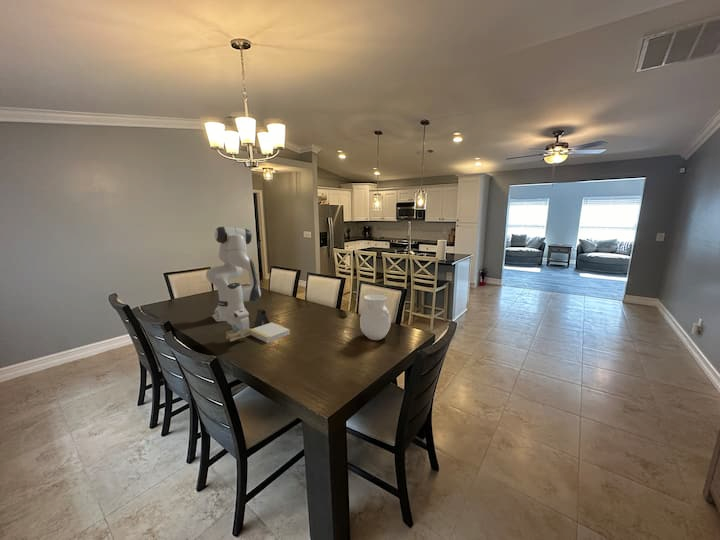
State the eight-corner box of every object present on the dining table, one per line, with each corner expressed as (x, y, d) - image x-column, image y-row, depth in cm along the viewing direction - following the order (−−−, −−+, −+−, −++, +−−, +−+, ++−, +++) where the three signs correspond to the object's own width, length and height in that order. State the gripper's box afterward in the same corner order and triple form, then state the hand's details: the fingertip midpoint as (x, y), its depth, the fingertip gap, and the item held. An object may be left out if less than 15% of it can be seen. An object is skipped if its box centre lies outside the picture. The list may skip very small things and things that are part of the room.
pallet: (226, 338, 165) (225, 332, 164) (245, 332, 174) (245, 326, 173) (231, 341, 161) (230, 334, 161) (250, 334, 170) (250, 328, 170)
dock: (249, 334, 178) (249, 329, 178) (271, 326, 190) (271, 321, 190) (267, 342, 165) (266, 337, 165) (290, 334, 177) (289, 329, 177)
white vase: (374, 328, 185) (374, 291, 180) (397, 336, 172) (397, 296, 167) (353, 337, 172) (352, 297, 167) (376, 346, 159) (376, 303, 154)
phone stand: (258, 329, 185) (256, 312, 183) (254, 327, 189) (252, 310, 187) (270, 325, 191) (269, 308, 189) (266, 323, 196) (265, 307, 193)
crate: (233, 330, 167) (232, 324, 166) (239, 328, 170) (239, 322, 169) (236, 332, 164) (235, 325, 163) (243, 330, 167) (242, 323, 166)
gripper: (222, 308, 169) (225, 330, 172) (239, 316, 156) (241, 340, 159) (233, 306, 174) (235, 327, 176) (250, 313, 161) (252, 336, 163)
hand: (238, 333), depth 167 cm, fingers closed on pallet, 6 cm apart
